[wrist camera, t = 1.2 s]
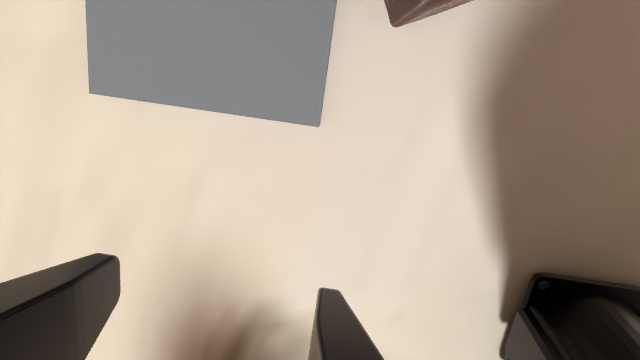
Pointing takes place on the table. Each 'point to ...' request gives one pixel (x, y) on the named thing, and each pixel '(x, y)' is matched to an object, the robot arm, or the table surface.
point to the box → (417, 9)
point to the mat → (214, 54)
